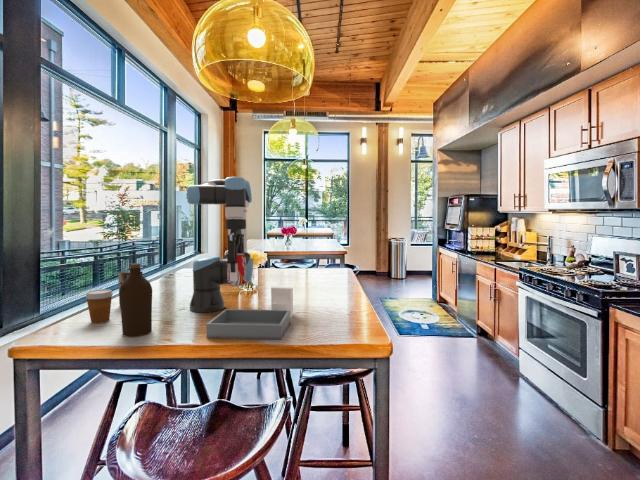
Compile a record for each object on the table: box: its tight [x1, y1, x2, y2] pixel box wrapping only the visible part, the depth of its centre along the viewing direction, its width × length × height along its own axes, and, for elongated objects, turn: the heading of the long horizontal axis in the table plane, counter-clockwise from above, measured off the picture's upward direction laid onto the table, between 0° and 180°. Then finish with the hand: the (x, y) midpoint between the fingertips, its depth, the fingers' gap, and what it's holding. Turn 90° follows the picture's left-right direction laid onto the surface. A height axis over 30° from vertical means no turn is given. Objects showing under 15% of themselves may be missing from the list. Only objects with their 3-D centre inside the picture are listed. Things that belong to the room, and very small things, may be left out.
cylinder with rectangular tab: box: [270, 286, 294, 319], centre depth 156 cm, size 9×9×12 cm
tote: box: [205, 308, 291, 341], centre depth 137 cm, size 26×20×5 cm
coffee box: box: [117, 270, 144, 305], centre depth 173 cm, size 9×6×16 cm
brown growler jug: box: [118, 262, 153, 338], centre depth 133 cm, size 11×11×25 cm
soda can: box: [227, 253, 247, 287], centre depth 141 cm, size 7×7×12 cm
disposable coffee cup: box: [84, 288, 114, 324], centre depth 148 cm, size 10×10×12 cm
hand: (236, 279), depth 141 cm, fingers closed on soda can, 7 cm apart
